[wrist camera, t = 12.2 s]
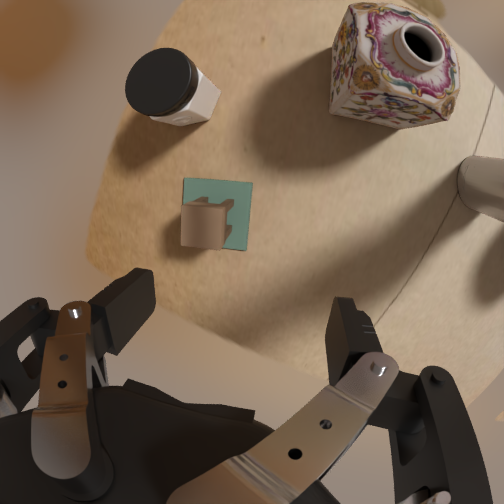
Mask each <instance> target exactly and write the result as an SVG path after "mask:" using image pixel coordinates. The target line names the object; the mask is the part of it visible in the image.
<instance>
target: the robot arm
mask: <svg viewBox="0 0 504 504" xmlns="http://www.w3.org/2000/svg"><path fill="white" fill-rule="evenodd" d="M457 183H458V191H459V194H460V197H461V199H462V201H463V203H464V204H465V205H466V206H467V207H469V208H471V209H473V210H476V211H478V212H481V213H483V214H485V215H488V216H490V217H492V218H495V219H497V220H499V221H502V222H504V159H500V158H491V157H483V156H470V157H468V158H466V159H465V160H464V161H463V163H462V164H461V166H460V169H459V172H458V180H457ZM155 305H156V298H155V288H154V276H153V272H152V271H151V270H148V269H142V268H134V269H133V270H132V271H130V272H129V273H128V274H127V275H125V276H123V277H121V278H118V279H116V280H115V281H113V282H112V283H111V284H109V286H107V287H106V288H104V290H102V291H100V292H99V293H98V294H97V295H95V296H94V297H93V298H92V299H90V300H89V301H88V302H85V301H73V302H69V303H67V304H65V305H64V306H63V307H62V308H61V309H60V311H58V310H50V309H49V306H48V303H47V300H46V299H44V298H40V297H37V298H32V299H29V300H27V301H26V302H24V303H23V304H22V305H20V306H19V307H18V308H16V309H15V310H14V311H13V312H11V313H10V314H9V315H7V316H6V317H5V318H4V319H3V320H1V321H0V504H340V503H339V502H338V500H337V499H336V498H335V497H334V496H333V495H332V494H331V493H330V492H329V491H328V489H327V488H326V487H325V486H324V485H323V484H322V483H321V480H322V479H323V478H324V477H325V476H326V475H327V474H328V473H329V472H330V471H331V469H332V468H333V467H334V466H335V465H336V464H337V462H338V461H339V460H340V459H341V458H342V456H343V455H344V454H345V453H346V452H347V450H348V449H349V448H350V447H351V445H352V444H353V443H354V442H355V440H356V439H357V438H358V436H359V435H360V434H361V432H362V431H363V430H364V429H365V427H366V426H367V425H372V426H377V427H381V428H385V429H388V431H389V438H390V446H391V455H392V465H393V477H394V491H395V504H493V501H492V495H491V490H490V485H489V481H488V477H487V472H486V468H485V465H484V461H483V457H482V454H481V451H480V447H479V444H478V441H477V438H476V435H475V432H474V429H473V426H472V423H471V421H470V418H469V415H468V413H467V410H466V408H465V405H464V403H463V400H462V398H461V395H460V393H459V391H458V388H457V386H456V384H455V381H454V379H453V377H452V376H451V374H450V373H449V372H448V371H446V370H445V369H443V368H441V367H438V366H427V367H425V368H424V369H423V370H422V371H421V373H420V375H419V376H418V375H414V374H409V373H405V372H402V371H399V366H398V364H397V362H396V361H395V360H394V359H393V358H392V357H390V356H389V355H387V354H384V353H383V350H382V348H381V345H380V342H379V340H378V337H377V334H375V333H376V332H375V329H374V327H373V324H372V321H371V319H370V317H369V316H368V315H367V314H366V313H365V312H364V311H359V310H357V309H356V306H355V303H354V300H353V298H345V297H335V298H334V301H333V304H332V309H331V313H330V316H329V320H328V324H327V328H326V334H325V345H326V354H327V363H328V373H329V385H327V386H326V387H325V388H323V389H322V390H321V392H319V393H318V394H317V395H316V396H315V397H314V398H313V399H312V400H311V401H310V402H308V404H306V405H305V406H304V407H303V408H302V409H300V410H299V411H298V412H297V413H296V414H295V415H293V416H292V417H291V418H290V419H289V420H287V421H286V422H285V423H284V424H283V425H281V426H280V427H279V428H278V429H276V430H273V429H272V428H270V427H269V426H267V425H265V424H263V423H261V422H258V421H256V420H254V415H255V410H249V409H243V408H237V407H232V406H227V405H222V404H191V403H183V402H181V401H179V400H177V399H175V398H173V397H171V396H170V395H168V394H166V393H164V392H162V391H160V390H159V389H157V388H155V387H152V386H149V385H145V384H143V383H139V382H136V381H134V380H131V379H127V381H126V382H125V384H124V385H123V386H109V384H108V377H107V370H106V360H105V357H104V354H105V353H106V352H108V353H111V354H114V355H116V356H117V355H118V354H119V353H120V351H121V350H122V349H123V348H124V346H125V345H126V344H127V343H128V342H129V340H130V339H131V338H132V337H133V336H134V334H135V333H136V332H137V331H138V330H139V329H140V327H141V326H142V325H143V324H144V322H145V321H146V320H147V319H148V318H149V317H150V316H151V314H152V313H153V311H154V309H155ZM29 336H31V339H32V341H33V344H34V346H35V349H34V350H33V351H32V352H31V353H30V354H29V355H28V356H27V357H26V358H25V359H24V360H23V361H22V362H20V360H19V358H18V355H17V350H18V347H19V345H20V344H21V343H22V342H23V341H24V340H26V339H27V338H28V337H29ZM38 389H40V390H39V400H38V407H37V408H34V409H30V410H27V411H23V412H21V411H22V410H23V408H24V407H25V406H26V404H27V403H28V402H29V401H30V399H31V398H32V397H33V396H34V394H35V393H36V392H37V391H38Z"/></svg>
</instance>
